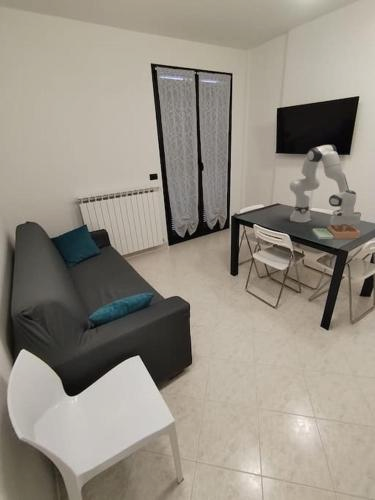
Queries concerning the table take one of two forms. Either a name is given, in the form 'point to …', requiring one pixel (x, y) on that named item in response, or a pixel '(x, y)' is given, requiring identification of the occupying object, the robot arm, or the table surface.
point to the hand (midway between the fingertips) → (343, 229)
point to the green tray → (323, 233)
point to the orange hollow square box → (343, 235)
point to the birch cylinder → (343, 228)
